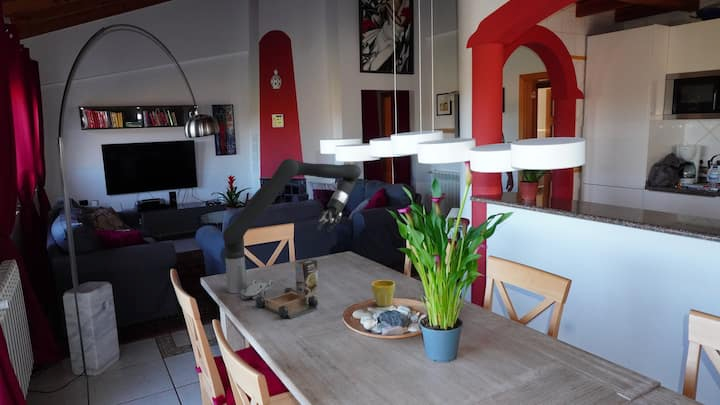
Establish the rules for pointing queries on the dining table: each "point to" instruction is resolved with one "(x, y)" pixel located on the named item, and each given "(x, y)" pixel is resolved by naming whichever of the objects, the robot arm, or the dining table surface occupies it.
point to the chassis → (289, 304)
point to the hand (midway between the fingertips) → (323, 230)
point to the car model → (256, 290)
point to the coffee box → (306, 277)
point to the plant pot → (383, 292)
